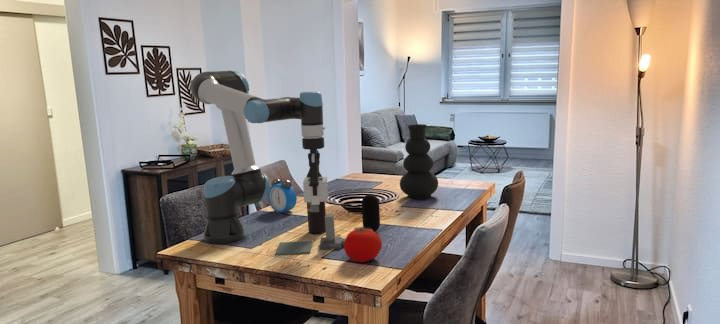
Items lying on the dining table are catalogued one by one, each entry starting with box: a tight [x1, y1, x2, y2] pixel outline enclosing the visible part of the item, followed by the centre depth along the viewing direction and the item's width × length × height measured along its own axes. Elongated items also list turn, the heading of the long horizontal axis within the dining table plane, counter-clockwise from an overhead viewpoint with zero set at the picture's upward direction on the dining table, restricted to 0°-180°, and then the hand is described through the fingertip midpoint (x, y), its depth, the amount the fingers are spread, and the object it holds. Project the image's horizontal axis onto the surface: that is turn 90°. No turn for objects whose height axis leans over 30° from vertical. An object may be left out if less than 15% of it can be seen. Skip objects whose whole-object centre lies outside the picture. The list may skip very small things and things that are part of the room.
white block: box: [302, 176, 329, 203], centre depth 178 cm, size 8×8×7 cm
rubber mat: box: [274, 240, 313, 256], centre depth 180 cm, size 12×12×1 cm
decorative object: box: [361, 193, 381, 233], centre depth 193 cm, size 7×7×15 cm
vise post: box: [319, 214, 373, 251], centre depth 180 cm, size 19×8×11 cm, turn 91°
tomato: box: [343, 228, 383, 263], centre depth 165 cm, size 11×12×10 cm
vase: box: [399, 123, 439, 200], centre depth 243 cm, size 18×18×35 cm
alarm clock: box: [267, 178, 298, 214], centre depth 231 cm, size 13×6×15 cm, turn 53°
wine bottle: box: [305, 168, 327, 235], centre depth 196 cm, size 7×7×30 cm
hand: (316, 201), depth 179 cm, fingers closed on white block, 8 cm apart
